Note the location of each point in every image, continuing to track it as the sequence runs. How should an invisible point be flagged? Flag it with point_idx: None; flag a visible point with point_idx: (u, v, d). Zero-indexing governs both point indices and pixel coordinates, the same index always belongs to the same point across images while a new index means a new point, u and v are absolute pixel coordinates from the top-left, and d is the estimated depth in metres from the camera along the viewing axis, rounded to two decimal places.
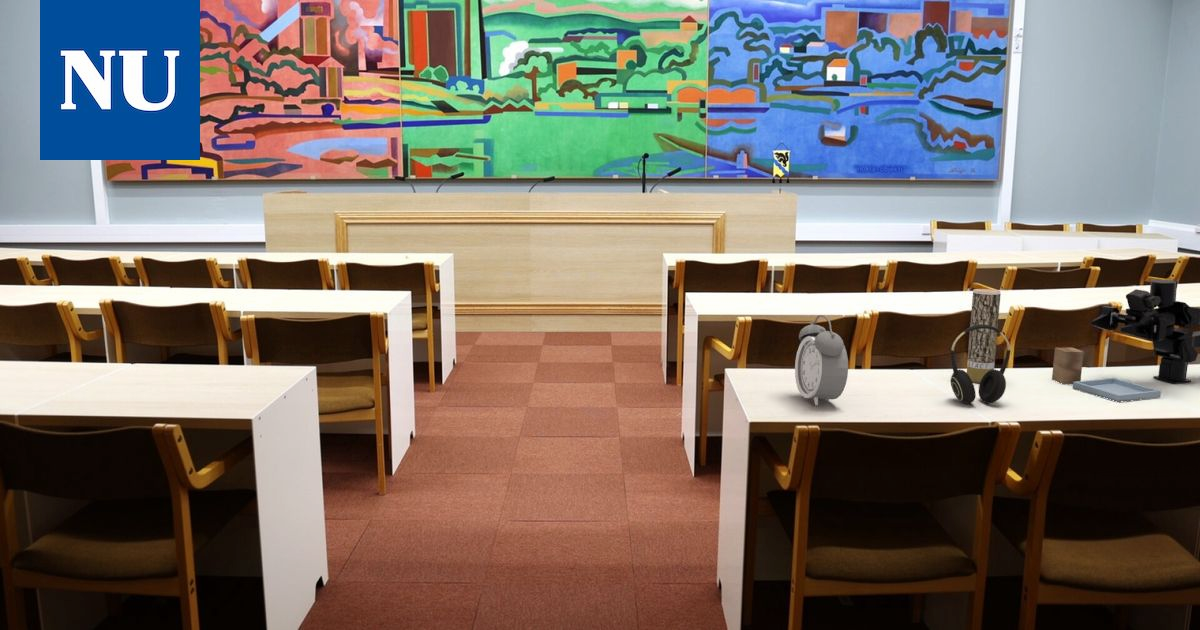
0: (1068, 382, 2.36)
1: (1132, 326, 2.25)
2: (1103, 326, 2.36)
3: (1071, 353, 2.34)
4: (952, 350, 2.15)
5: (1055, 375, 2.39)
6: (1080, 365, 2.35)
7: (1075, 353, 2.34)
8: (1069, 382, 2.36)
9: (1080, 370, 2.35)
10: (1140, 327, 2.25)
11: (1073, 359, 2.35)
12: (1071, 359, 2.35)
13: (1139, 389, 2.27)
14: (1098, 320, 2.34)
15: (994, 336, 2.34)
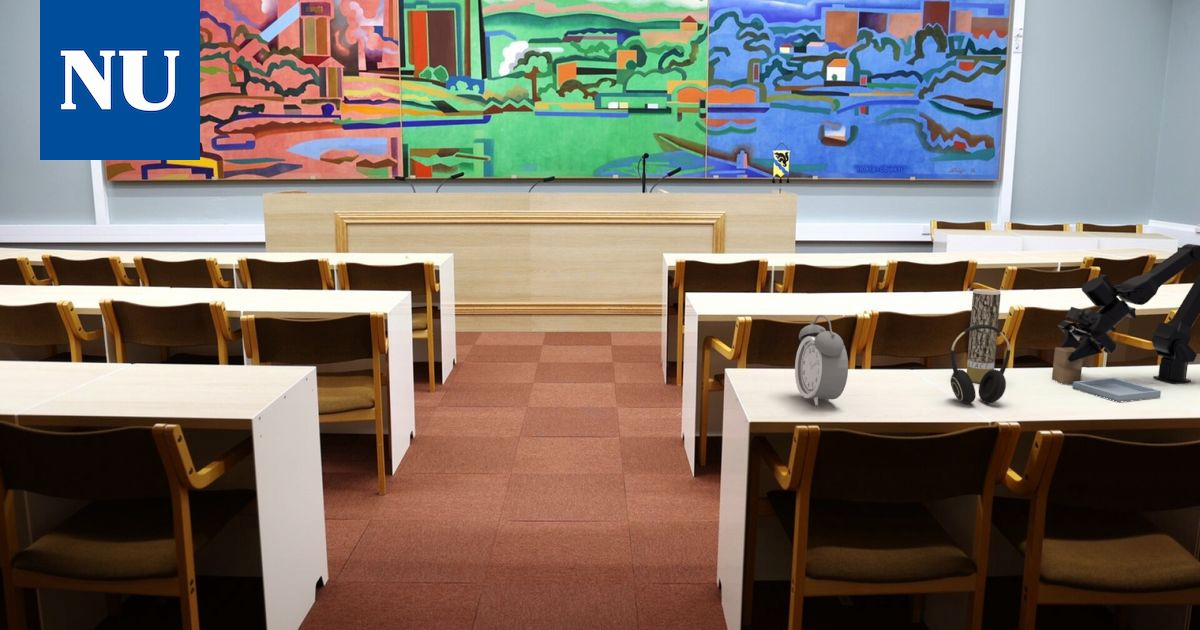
0: (1068, 382, 2.36)
1: (1076, 352, 2.33)
2: None
3: (1071, 353, 2.34)
4: (952, 350, 2.15)
5: (1055, 375, 2.39)
6: (1080, 365, 2.35)
7: None
8: (1069, 382, 2.36)
9: (1080, 370, 2.35)
10: (1085, 347, 2.33)
11: None
12: None
13: (1139, 389, 2.27)
14: None
15: (994, 336, 2.34)
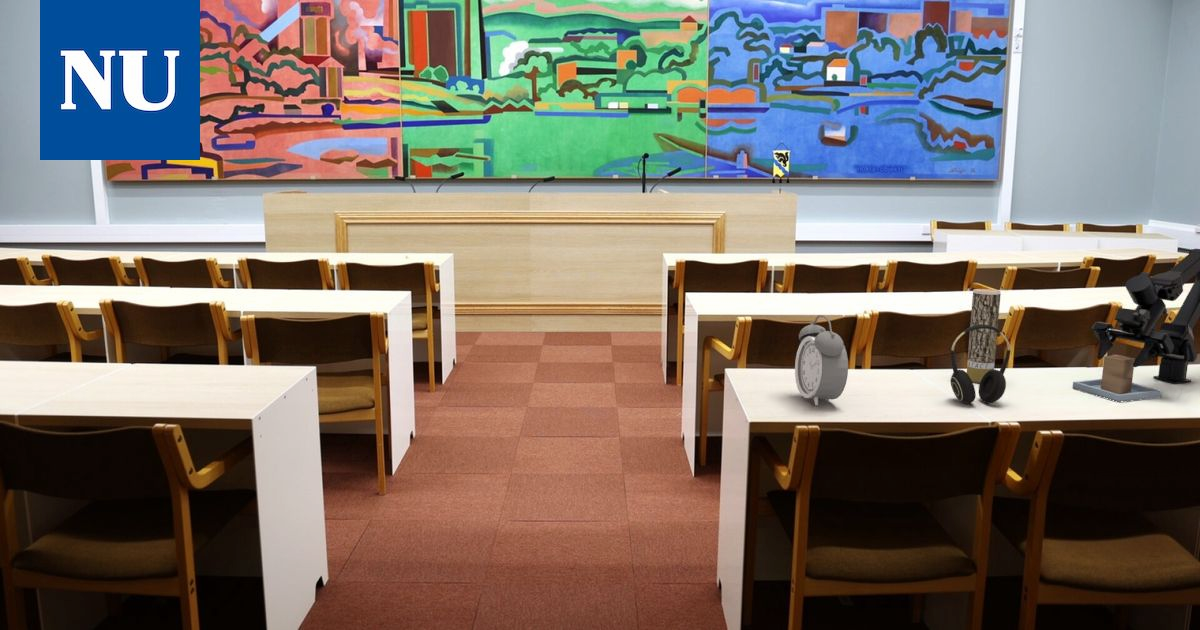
0: (1123, 391, 2.25)
1: (1141, 357, 2.20)
2: (1107, 349, 2.31)
3: (1127, 361, 2.23)
4: (952, 350, 2.15)
5: (1106, 385, 2.26)
6: (1132, 372, 2.25)
7: (1129, 361, 2.24)
8: (1124, 391, 2.25)
9: (1131, 378, 2.25)
10: (1148, 351, 2.21)
11: (1128, 367, 2.24)
12: (1127, 367, 2.23)
13: (1139, 389, 2.27)
14: (1102, 351, 2.29)
15: (994, 336, 2.34)
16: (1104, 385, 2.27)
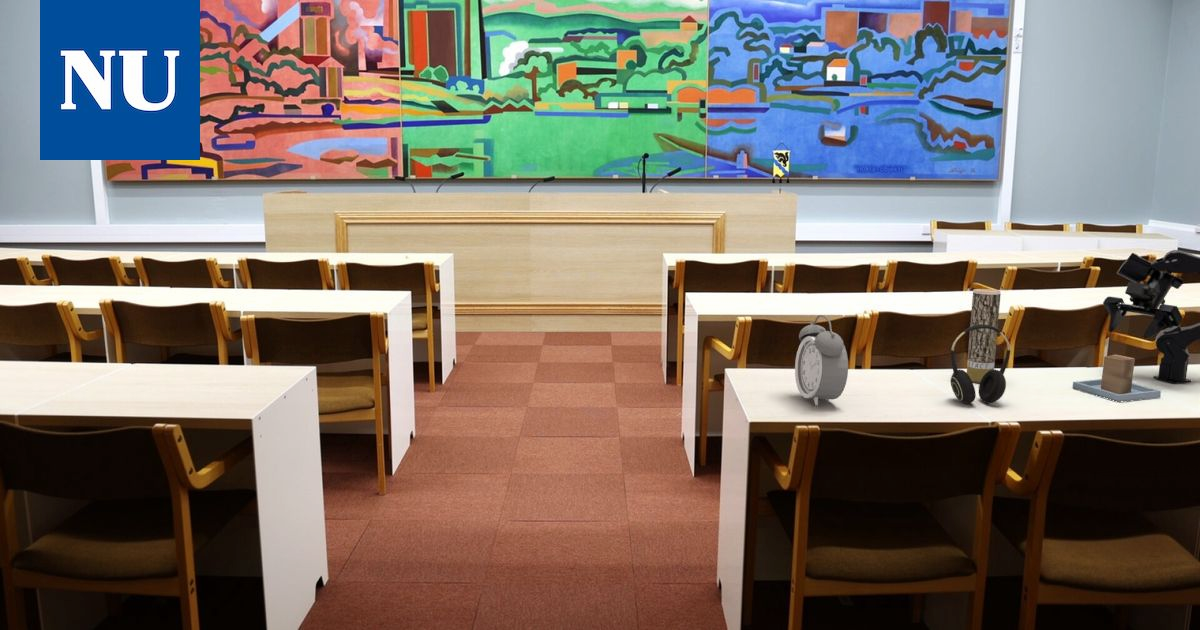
0: (1123, 391, 2.25)
1: (1151, 329, 2.29)
2: (1118, 323, 2.40)
3: (1127, 361, 2.23)
4: (952, 350, 2.15)
5: (1106, 385, 2.26)
6: (1132, 372, 2.25)
7: (1129, 361, 2.24)
8: (1124, 391, 2.25)
9: (1131, 378, 2.25)
10: (1157, 323, 2.30)
11: (1128, 367, 2.24)
12: (1127, 367, 2.23)
13: (1139, 389, 2.27)
14: (1113, 324, 2.38)
15: (994, 336, 2.34)
16: (1104, 385, 2.27)
